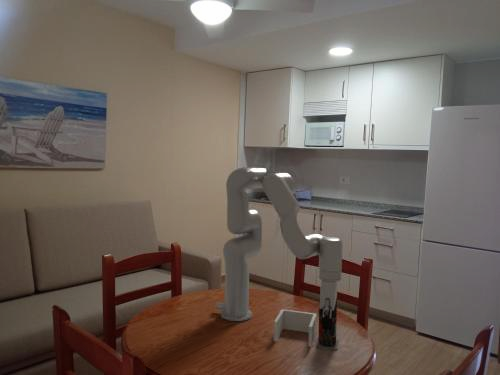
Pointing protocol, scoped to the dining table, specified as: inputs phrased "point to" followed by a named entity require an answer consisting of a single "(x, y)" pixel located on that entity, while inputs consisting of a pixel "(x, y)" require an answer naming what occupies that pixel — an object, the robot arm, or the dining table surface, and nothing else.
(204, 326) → the dining table surface
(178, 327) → the dining table surface
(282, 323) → the u-shaped bracket
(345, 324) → the dining table surface
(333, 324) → the deodorant
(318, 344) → the coaster
